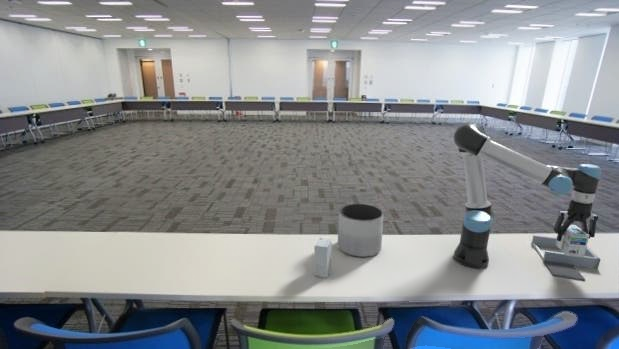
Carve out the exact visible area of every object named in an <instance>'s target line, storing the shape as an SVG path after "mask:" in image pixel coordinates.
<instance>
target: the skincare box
mask: <svg viewBox="0 0 619 349" xmlns="http://www.w3.org/2000/svg"><path fill="white" fill-rule="evenodd" d="M313 254H314V257H313V258H314V259H313V260H314V276H315V277H319V278H325V279H327V278H328V276H329V274H330V272H331V270H332V239H329V238H323V237H319V238H318V239H317V241H316V243H315V244H314V253H313Z"/></svg>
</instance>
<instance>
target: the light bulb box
mask: <svg viewBox="0 0 619 349" xmlns="http://www.w3.org/2000/svg"><path fill="white" fill-rule="evenodd" d="M563 224H564V223H562V225H563ZM562 225H561V226H562ZM564 236H565V237H564V241H563V245H562V249H560V251H561V252H562V253H565V254H566V255H567V256H575V257H584V255H585V251H586V247H587V246H588V242H589V240H590V239H589V236H590V235H589V234H587V233H586V232H584V231H583V230H582V228H580V227H579V226H578V225H576V224H571V225H570V226H569V227H568V229H567V230H566V231H565V232H564ZM555 245H558V240H556V244H555Z"/></svg>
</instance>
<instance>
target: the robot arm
mask: <svg viewBox="0 0 619 349" xmlns="http://www.w3.org/2000/svg"><path fill="white" fill-rule="evenodd" d="M453 141H454V144H455V145H456V146H457V147H458V153H459V154H461V155H462V161H463V168H464V170H463V171H464V178H465V185H466V186H465V187H466V194H467V201H466V203H465V206H464V207H465V213H464V216H463V218H462V227H461V233H460V238H459V239H460V240H459V243H458V245H457V246H456V248H455V250H454V252H453V259H454V261H456V262H457V263H458V264H460V265H462V266H464V267H468V268H471V269H483V268H487V267H488V266H489V264H490V258H489V253H488V244H489V238H490V234H491V228H492V225H493V223H494V219H495V216H494V211H493V209H492V208H493V207H492V203H491V201H489V200H488V194H487V185H486V184H487V183H486V173H485V164H484V158H485V159H487V160H490V161H491V162H494V163H496V164H498V165H500V166H503V167H504V168H506V169H508V170H510V171H512V172H514V173H517V174H519V175H521V176H523V177H525V178H527V179H530V180H531V181H533V182H536V183H537V184H540V185H542V186H544V187H546V188H547V189H549V190H550V191H551V192H552V193H554V194H555V195H565V194H568V193H569V192H571V190H572V192H571V195H570V200H569V204H568V208H567V209H566V210H565V211H563V210H558V217H557V219H556V222H555V225H554V227H553V231H554V232H555V234H557V235H556V238H557V240H558V245H557V246H558V248H557V249H559V250H561V249H562V245H563V241H564V237H565V236H564V232H565V231H566V230H567V229H568V227H569V226H570V225H573V224H574V222H580V226H581V229H582V230H583V231H584V232H586V233H587V234H589V235H590V236H589V239H588V240H590V239H591V238H595V235H596V227H597V221H598V219H599V216H598V215H596V214H595V213H592V212H591V211H592V209H593V202H594V201H595V197H596V193H597V189H598V186H599V183H600V180H601V173H602V168H601V167H600V166H599V165H595V164H589V163H585V164H584V163H580V164H579V165H578V166H577V167H576V168H573V167H565V166H559V165H548V164H547V165H546V164H544V163H542V162H539V161H537V160H535V159H533V158H531V157H528V156H526V155H524V154H522V153H520V152H517V151H515V150H513V149H511V148H509V147H507V146H504V145H502V144H500V143H498V142H495V141H493V140H492V139H491V137H490V136H488V135H486V130H485V128H484V126H483V125H482V124H480V123H479V122H476V121H468V122H465V123H463V124H461V126H459V127H458V128H456V130H455V131H454V134H453ZM567 215H568V216H567ZM566 216H567V218H566V220H565V217H566ZM587 219H589V223H588V222H587ZM564 220H565V221H564ZM562 224H563V225H562ZM587 224H589V225H587ZM561 225H562V226H561ZM588 226H589V227H588Z"/></svg>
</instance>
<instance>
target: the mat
mask: <svg viewBox="0 0 619 349" xmlns="http://www.w3.org/2000/svg"><path fill="white" fill-rule="evenodd" d="M542 261H543V260H542ZM543 264H544V265H545V266H546V268H547V269H548V271H549V273H550V274H551V275H552V277H558V278H564V279H565V278H566V279H571V280H577V281H578V280H579V281H586V279H585V277H584V276H583V275H582V274H581V272H580V271H579V270H578V269H577V267H576V266H574V265H570V264H563V263H556V262H549V261H543Z"/></svg>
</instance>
